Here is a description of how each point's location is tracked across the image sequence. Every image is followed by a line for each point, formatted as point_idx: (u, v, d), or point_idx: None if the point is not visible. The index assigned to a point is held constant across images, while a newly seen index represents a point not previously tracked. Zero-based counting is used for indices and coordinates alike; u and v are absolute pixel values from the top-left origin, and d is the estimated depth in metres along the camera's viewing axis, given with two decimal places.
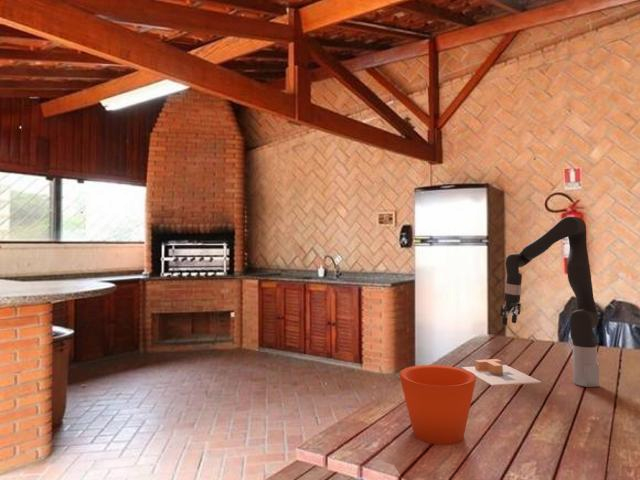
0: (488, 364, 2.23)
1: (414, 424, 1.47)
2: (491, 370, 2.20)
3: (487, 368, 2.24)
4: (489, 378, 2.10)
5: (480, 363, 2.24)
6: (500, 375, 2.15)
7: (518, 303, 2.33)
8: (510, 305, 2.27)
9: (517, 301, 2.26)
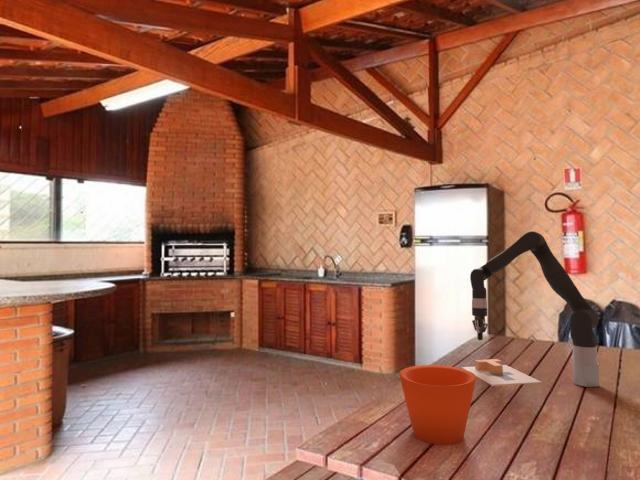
0: (488, 364, 2.23)
1: (414, 424, 1.47)
2: (491, 370, 2.20)
3: (487, 368, 2.24)
4: (489, 378, 2.10)
5: (480, 363, 2.24)
6: (500, 375, 2.15)
7: None
8: None
9: None
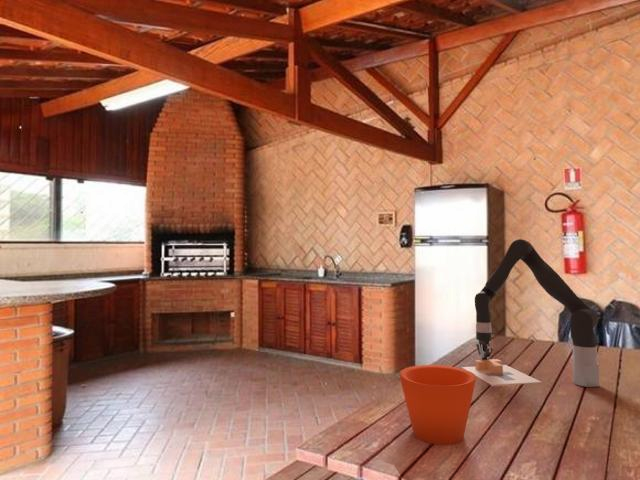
0: (488, 364, 2.23)
1: (414, 424, 1.47)
2: (491, 370, 2.20)
3: (487, 368, 2.24)
4: (489, 378, 2.10)
5: (480, 363, 2.24)
6: (500, 375, 2.15)
7: None
8: None
9: None
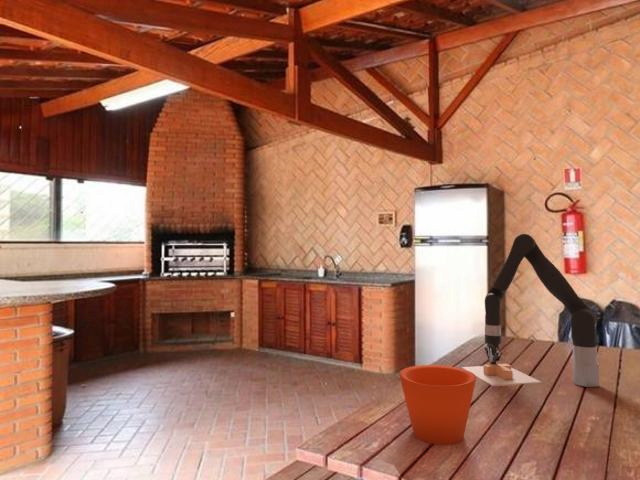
0: (497, 369, 2.14)
1: (414, 424, 1.47)
2: (500, 375, 2.11)
3: (496, 373, 2.15)
4: (489, 378, 2.10)
5: (489, 368, 2.15)
6: None
7: (488, 347, 2.28)
8: None
9: None
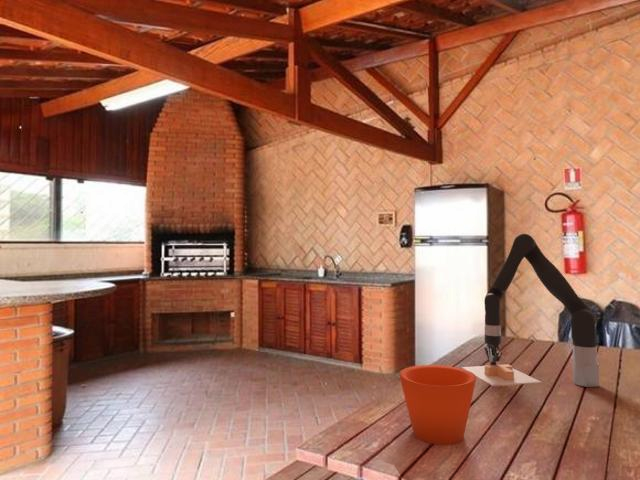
0: (498, 370, 2.12)
1: (414, 424, 1.47)
2: (502, 376, 2.10)
3: (497, 374, 2.13)
4: (489, 378, 2.10)
5: (490, 369, 2.14)
6: None
7: None
8: None
9: None
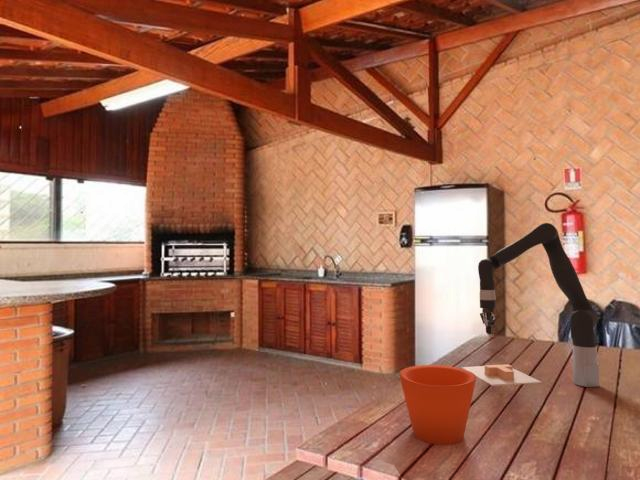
0: (498, 370, 2.12)
1: (414, 424, 1.47)
2: (502, 376, 2.10)
3: (497, 374, 2.13)
4: (489, 378, 2.10)
5: (490, 369, 2.14)
6: None
7: None
8: None
9: None
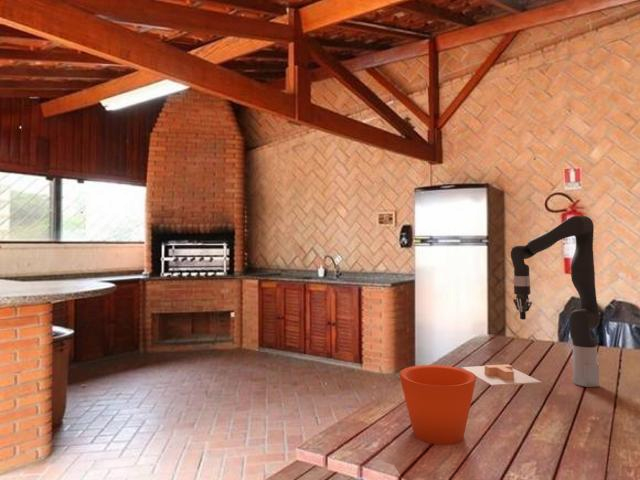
0: (498, 370, 2.12)
1: (414, 424, 1.47)
2: (502, 376, 2.10)
3: (497, 374, 2.13)
4: (489, 378, 2.10)
5: (490, 369, 2.14)
6: None
7: (517, 299, 2.33)
8: None
9: None
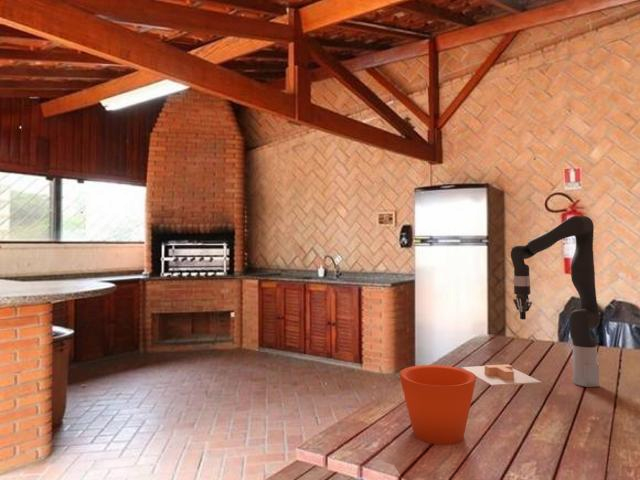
0: (498, 370, 2.12)
1: (414, 424, 1.47)
2: (502, 376, 2.10)
3: (497, 374, 2.13)
4: (489, 378, 2.10)
5: (490, 369, 2.14)
6: None
7: (517, 299, 2.33)
8: None
9: None
